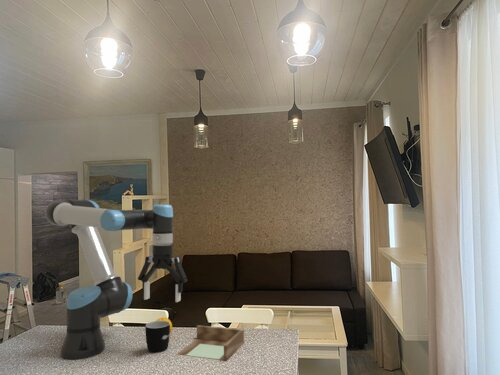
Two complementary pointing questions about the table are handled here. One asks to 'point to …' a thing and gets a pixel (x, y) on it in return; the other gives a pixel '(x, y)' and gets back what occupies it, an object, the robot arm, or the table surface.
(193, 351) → the pad
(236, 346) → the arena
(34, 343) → the table surface
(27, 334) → the table surface
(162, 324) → the mug
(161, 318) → the yellow orange fruit
